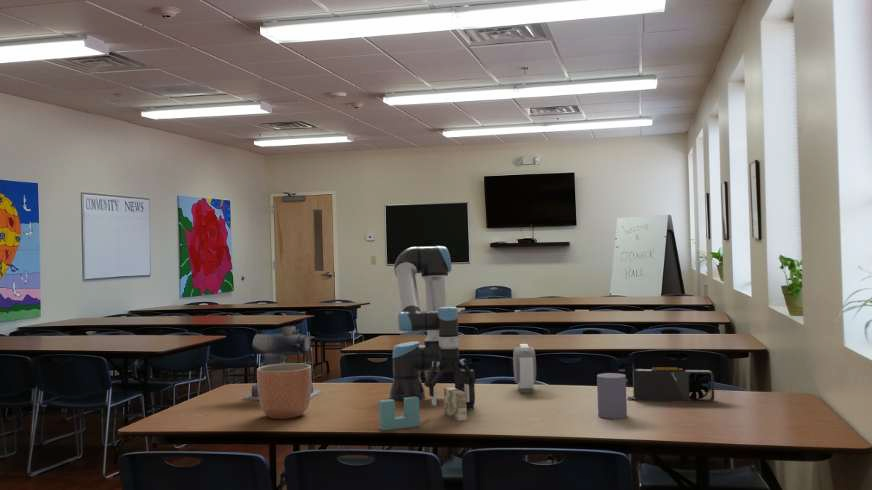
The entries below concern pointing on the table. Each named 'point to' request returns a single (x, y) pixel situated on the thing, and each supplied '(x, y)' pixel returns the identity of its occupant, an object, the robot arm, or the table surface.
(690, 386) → the graphics card
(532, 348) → the alarm clock
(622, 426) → the table surface
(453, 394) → the upper plate
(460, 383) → the camera lens
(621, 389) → the container
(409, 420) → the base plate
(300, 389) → the planter
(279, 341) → the grinder
